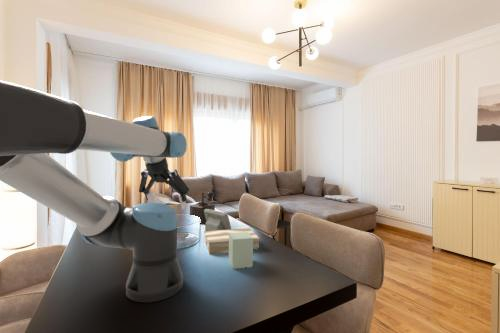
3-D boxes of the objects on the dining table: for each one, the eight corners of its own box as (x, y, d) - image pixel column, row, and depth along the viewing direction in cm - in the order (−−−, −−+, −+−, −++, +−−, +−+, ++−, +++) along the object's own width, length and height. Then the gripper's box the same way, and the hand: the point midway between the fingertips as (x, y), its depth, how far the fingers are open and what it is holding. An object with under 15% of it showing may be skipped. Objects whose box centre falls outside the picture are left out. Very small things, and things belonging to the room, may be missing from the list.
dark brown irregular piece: (188, 222, 139) (188, 190, 138) (200, 218, 149) (201, 188, 148) (210, 226, 132) (211, 192, 131) (222, 221, 142) (222, 190, 141)
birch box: (259, 250, 101) (259, 238, 101) (208, 255, 95) (209, 242, 95) (248, 238, 115) (249, 228, 115) (204, 242, 109) (204, 231, 109)
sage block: (252, 267, 85) (253, 238, 85) (232, 269, 83) (232, 239, 83) (247, 258, 92) (248, 231, 91) (228, 260, 90) (229, 233, 90)
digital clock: (233, 234, 120) (234, 212, 119) (217, 238, 114) (217, 215, 114) (216, 226, 132) (216, 206, 132) (200, 229, 127) (200, 208, 126)
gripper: (191, 154, 92) (200, 202, 101) (131, 154, 97) (145, 200, 106) (182, 163, 85) (193, 214, 94) (118, 163, 90) (135, 211, 100)
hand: (168, 207), depth 100 cm, fingers open, 13 cm apart
